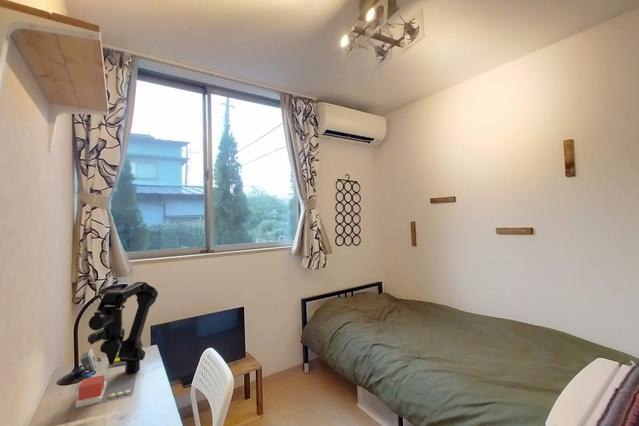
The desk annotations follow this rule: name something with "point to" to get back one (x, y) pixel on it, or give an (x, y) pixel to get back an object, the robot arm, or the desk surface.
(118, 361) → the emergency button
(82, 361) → the electrical switch
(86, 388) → the red block
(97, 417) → the desk surface
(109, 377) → the desk surface
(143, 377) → the desk surface
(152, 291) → the robot arm
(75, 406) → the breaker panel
